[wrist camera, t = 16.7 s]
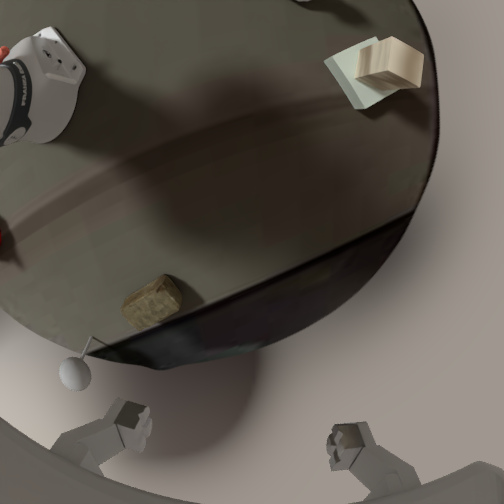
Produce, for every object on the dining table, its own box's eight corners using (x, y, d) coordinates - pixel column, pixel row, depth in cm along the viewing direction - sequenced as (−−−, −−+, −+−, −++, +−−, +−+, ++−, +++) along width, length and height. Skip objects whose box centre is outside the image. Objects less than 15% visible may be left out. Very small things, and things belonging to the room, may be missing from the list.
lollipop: (76, 321, 49) (50, 371, 36) (104, 329, 51) (81, 382, 37) (81, 343, 52) (59, 391, 39) (107, 350, 54) (88, 401, 40)
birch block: (354, 78, 30) (387, 70, 22) (359, 50, 28) (392, 36, 20) (383, 90, 31) (420, 87, 23) (387, 63, 29) (423, 54, 21)
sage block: (322, 61, 32) (331, 56, 29) (363, 41, 30) (375, 36, 27) (353, 109, 36) (365, 108, 32) (392, 87, 34) (405, 85, 30)
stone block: (186, 293, 48) (182, 310, 43) (143, 317, 50) (137, 334, 46) (166, 269, 45) (160, 286, 41) (123, 297, 48) (115, 314, 43)
